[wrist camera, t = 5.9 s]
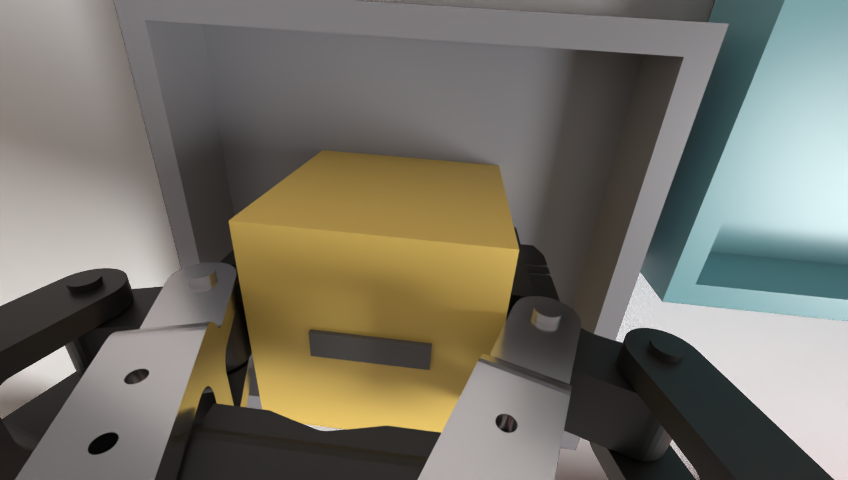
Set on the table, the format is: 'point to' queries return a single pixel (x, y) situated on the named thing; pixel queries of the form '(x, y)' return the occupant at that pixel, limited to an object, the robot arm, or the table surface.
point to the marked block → (374, 287)
